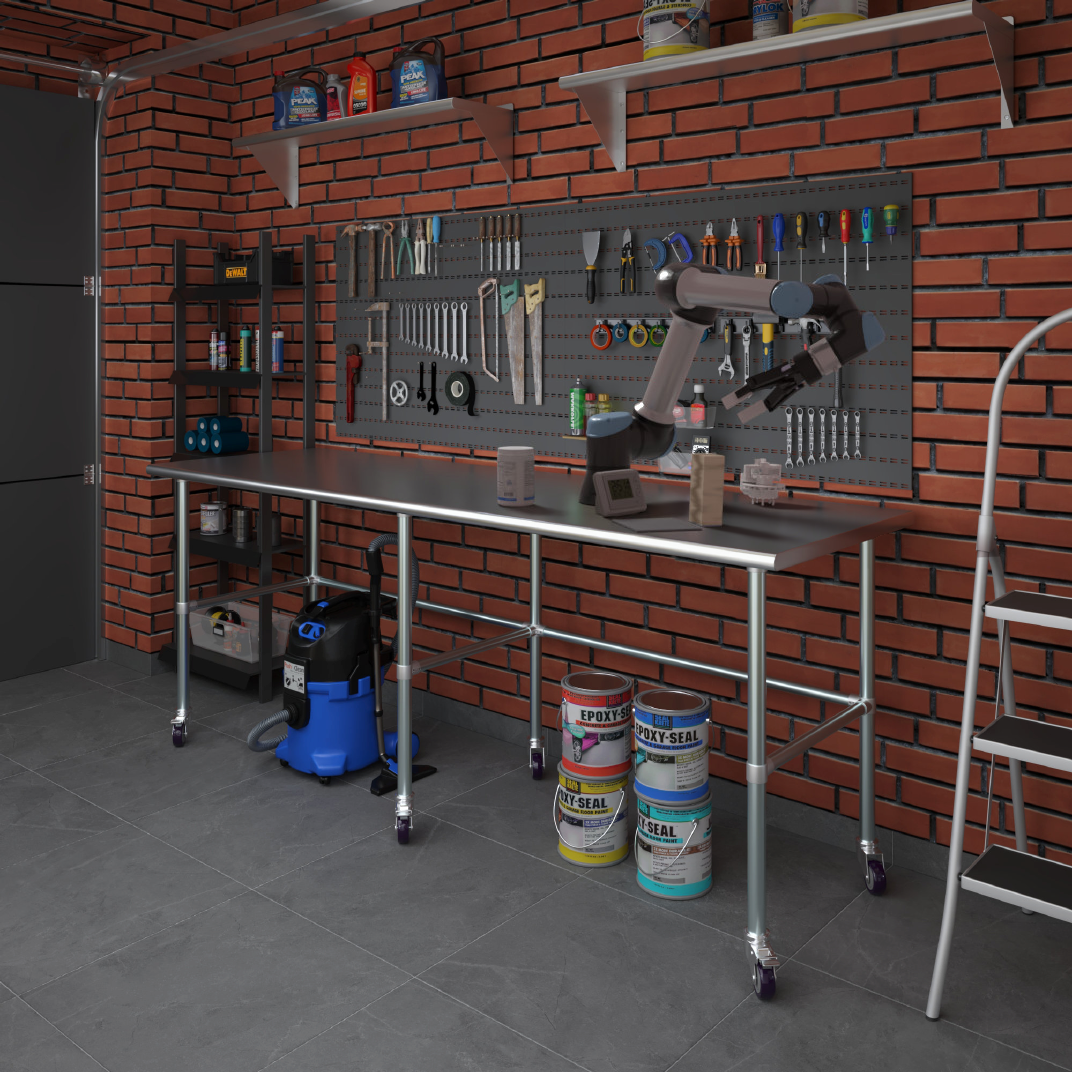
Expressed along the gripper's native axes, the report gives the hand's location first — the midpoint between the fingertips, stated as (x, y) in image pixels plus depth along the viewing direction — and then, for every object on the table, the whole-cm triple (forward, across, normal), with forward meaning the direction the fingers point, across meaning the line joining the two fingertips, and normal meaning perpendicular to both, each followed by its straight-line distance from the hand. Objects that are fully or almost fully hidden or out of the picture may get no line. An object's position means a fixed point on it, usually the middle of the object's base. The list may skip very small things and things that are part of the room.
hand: (732, 412), depth 238 cm
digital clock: (+36, +7, -6) cm, 37 cm away
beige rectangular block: (+18, +2, -20) cm, 26 cm away
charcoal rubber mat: (+26, -6, -16) cm, 32 cm away
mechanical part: (+9, +42, -11) cm, 45 cm away
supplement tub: (+60, +7, +11) cm, 62 cm away
